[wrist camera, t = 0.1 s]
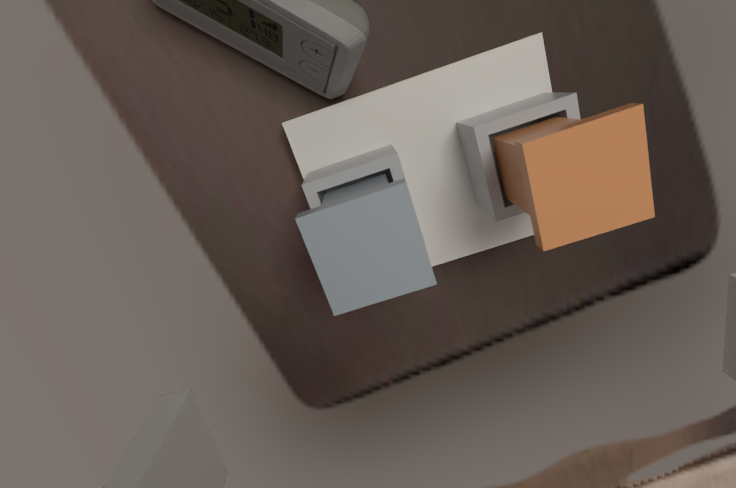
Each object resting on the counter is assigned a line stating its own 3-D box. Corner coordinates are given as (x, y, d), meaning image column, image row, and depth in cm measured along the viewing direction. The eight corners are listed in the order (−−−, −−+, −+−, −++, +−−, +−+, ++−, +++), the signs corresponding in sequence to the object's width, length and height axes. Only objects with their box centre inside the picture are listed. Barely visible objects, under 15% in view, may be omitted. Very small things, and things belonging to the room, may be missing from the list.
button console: (287, 120, 35) (269, 128, 28) (526, 37, 34) (575, 21, 26) (347, 278, 40) (346, 322, 33) (558, 212, 39) (607, 241, 31)
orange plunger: (478, 130, 29) (521, 143, 21) (566, 100, 28) (643, 104, 21) (497, 212, 31) (543, 251, 23) (579, 186, 30) (654, 217, 23)
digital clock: (141, -10, 32) (43, -58, 22) (207, -125, 30) (132, -235, 20) (316, 131, 36) (301, 147, 26) (386, 39, 34) (399, 17, 23)
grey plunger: (310, 186, 30) (295, 218, 22) (392, 158, 29) (406, 182, 22) (338, 262, 32) (334, 316, 24) (416, 237, 31) (436, 284, 24)
